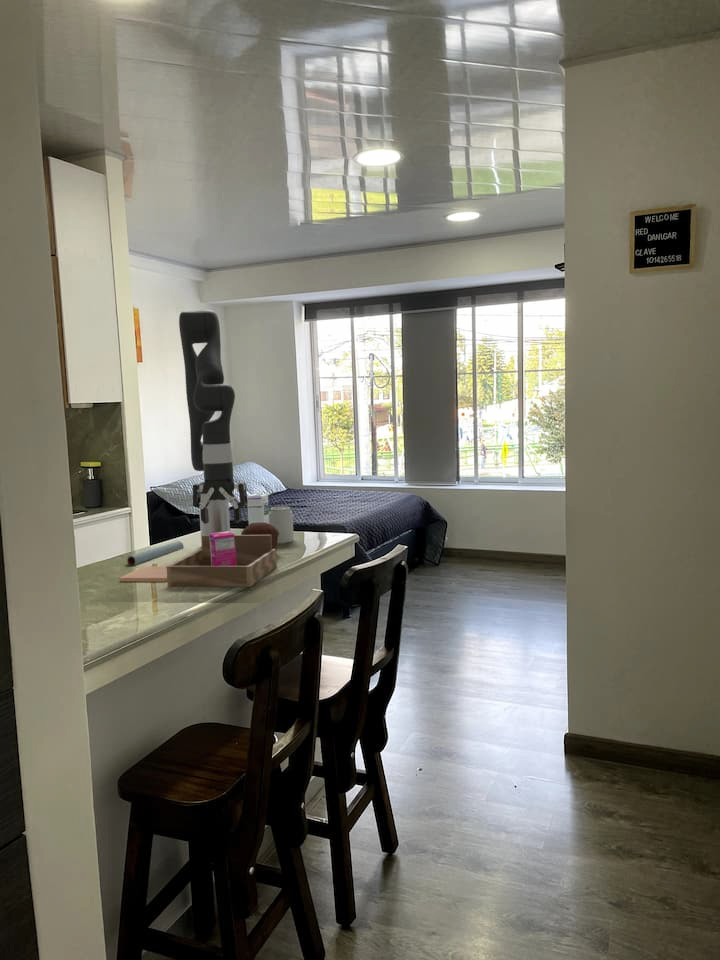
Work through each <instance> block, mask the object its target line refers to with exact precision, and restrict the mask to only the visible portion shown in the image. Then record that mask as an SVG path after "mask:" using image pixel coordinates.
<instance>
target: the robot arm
mask: <svg viewBox="0 0 720 960" xmlns="http://www.w3.org/2000/svg"><path fill="white" fill-rule="evenodd" d="M218 317H219V316H218V314H217V313H216V311H214V310H212V309H211V310H210V309H202V310H201V309H199V310H185V311H181V312H180V313H179V319H178V324H179V325H178V327H179V335H180V341H181V348H182V355H183V362H184V363H183V364H184V374H185V376H184V377H185V393H186V402H187V404H186V405H187V410H188V419H189V429H190V432H189V433H190V435H189V436H190V458H191V464H192V467H193V469H194V471H196V472H203V480H204V481H202V482H200V483H194V484H193V485H192V506H193V507H194V508H197V509H198V510H199V526H200V528H199V529H200V541H201V542H200V543H201V546H202V535H209V534H210V533H219V532H226V531H230V532H231V525H230V505H229V503H230V504H231V506H232V507H233V521H234V524H238V523H240V521H242V508H243V507H245V506H248V505H247V504H248V500H247V497H248V494H247V485H246V482H239V483H235V481H234V469H233V468H234V467H233V466H234V465H233V464H234V463H233V451H232V444H231V431H230V430H231V417H232V412H233V408H234V404H235V400H236V399H235V398H236V394H235V391H234V388H233V387H232V386H231V385H230V384H229V383H224V381H225V377H224V376H225V375H224V371H223V366H222V359H221V358H222V355H221V352H222V351H221V349H222V348H221V347H222V346H221V330H220V329H221V328H220V322H219V318H218ZM195 344H205V346H204V347H203V348H202V349H201V350H200V352H199V353H198V355H197V352H196V351H195V348H194V346H193V345H195ZM216 412H221V413H220V416H219V417H218V418H216V419H212V418H213V416H214V415H215V413H216ZM211 419H212V420H211ZM235 489H236V491H237V492H238V495H239V496H238V497H239V500H238V499H237V498H238V497H237V496H236V495H235V494H234V490H235Z"/></svg>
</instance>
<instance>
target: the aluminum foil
mask: <svg viewBox="0 0 720 960" xmlns="http://www.w3.org/2000/svg"><path fill="white" fill-rule="evenodd" d="M181 548H182V549H184V543H183V542H181V541H180V540H178V541H177V540H176V541H173V542H170V543H168V544H164V545H161V546H156V547H153V548H151V549H147V550H144V551H141V552H137V553H135V554H134V553H133V554H131V555H129V556H127V558H126V562H127V565H133V566H137V565H139V564H140V565H141V564H142V563H145V562H148V561H150V560H154V559H155V558H156V557H157V558H159V556H160V557H162V556H165V555H168V554H171V553H173V551H174V552H176V551H178V549H179V550H182V549H181ZM153 558H154V559H153ZM157 558H156V559H157Z"/></svg>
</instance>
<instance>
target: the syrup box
mask: <svg viewBox="0 0 720 960" xmlns="http://www.w3.org/2000/svg"><path fill="white" fill-rule="evenodd" d="M247 500H248V504H247V505H246V506H247V518H248V525H250V524H253V523H258V522H264V523H269V513H270V505H269V494H267V493H254V494H253V493H252V494H251V495H247Z"/></svg>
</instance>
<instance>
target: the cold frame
mask: <svg viewBox="0 0 720 960" xmlns="http://www.w3.org/2000/svg"><path fill="white" fill-rule="evenodd" d="M234 535H235V547H236V561H237V566H211V553H210V539H209V535H202V545H201V549H198V550H196V551H195V552H192V553H191V554H189V555H187V556H184V557H183V558H180V559H179V560H177V561H175V562H173V563H171V564H169V565H166V567H167V586H168V587H246V588H247V587H250V588H251V587H253V586H254V585H256V583H258V582H259V581H261V579H263V578H264V577H265V576H266V575H268V574H270V573H271V572H272V571H273V570H275V569H276V568H277V565H278V564H277V563H278V562H277V550H276V549H272V535H241V534H234Z"/></svg>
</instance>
